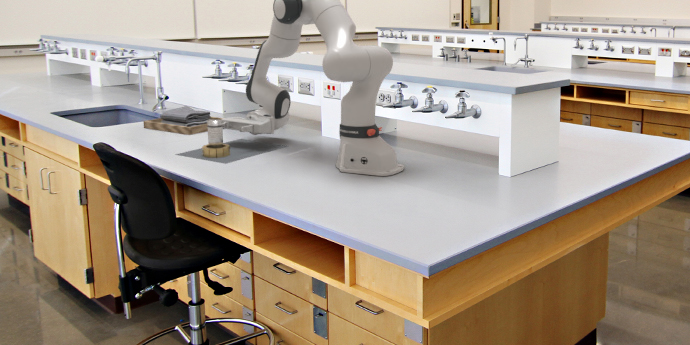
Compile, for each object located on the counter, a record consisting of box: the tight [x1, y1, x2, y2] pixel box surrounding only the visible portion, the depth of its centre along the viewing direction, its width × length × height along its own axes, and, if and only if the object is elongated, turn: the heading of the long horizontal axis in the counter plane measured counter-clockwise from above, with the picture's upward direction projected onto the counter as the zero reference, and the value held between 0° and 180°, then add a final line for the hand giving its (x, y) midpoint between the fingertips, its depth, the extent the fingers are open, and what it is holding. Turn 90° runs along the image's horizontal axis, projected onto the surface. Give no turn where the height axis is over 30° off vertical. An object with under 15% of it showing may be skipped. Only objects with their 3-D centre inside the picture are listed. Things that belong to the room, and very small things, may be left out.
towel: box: [159, 105, 212, 127], centre depth 274 cm, size 15×18×8 cm
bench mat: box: [175, 138, 288, 165], centre depth 224 cm, size 24×34×1 cm
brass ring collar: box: [201, 143, 230, 158], centre depth 216 cm, size 9×9×3 cm
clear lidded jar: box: [207, 120, 224, 148], centre depth 215 cm, size 5×5×12 cm
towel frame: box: [142, 116, 224, 136], centre depth 271 cm, size 28×25×3 cm
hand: (231, 128), depth 221 cm, fingers open, 8 cm apart
